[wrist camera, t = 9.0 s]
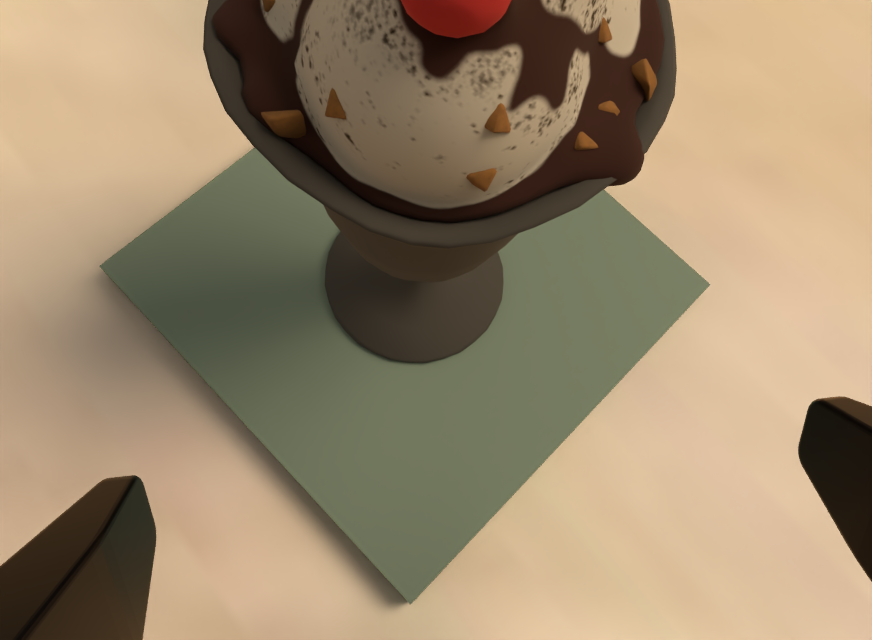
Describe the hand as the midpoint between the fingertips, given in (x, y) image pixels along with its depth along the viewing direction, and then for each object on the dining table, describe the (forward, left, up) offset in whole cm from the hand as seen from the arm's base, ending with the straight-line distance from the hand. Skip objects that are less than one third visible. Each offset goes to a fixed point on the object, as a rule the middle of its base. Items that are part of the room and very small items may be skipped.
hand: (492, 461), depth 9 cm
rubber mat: (+4, +5, -9) cm, 11 cm away
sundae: (+4, +5, -9) cm, 11 cm away
